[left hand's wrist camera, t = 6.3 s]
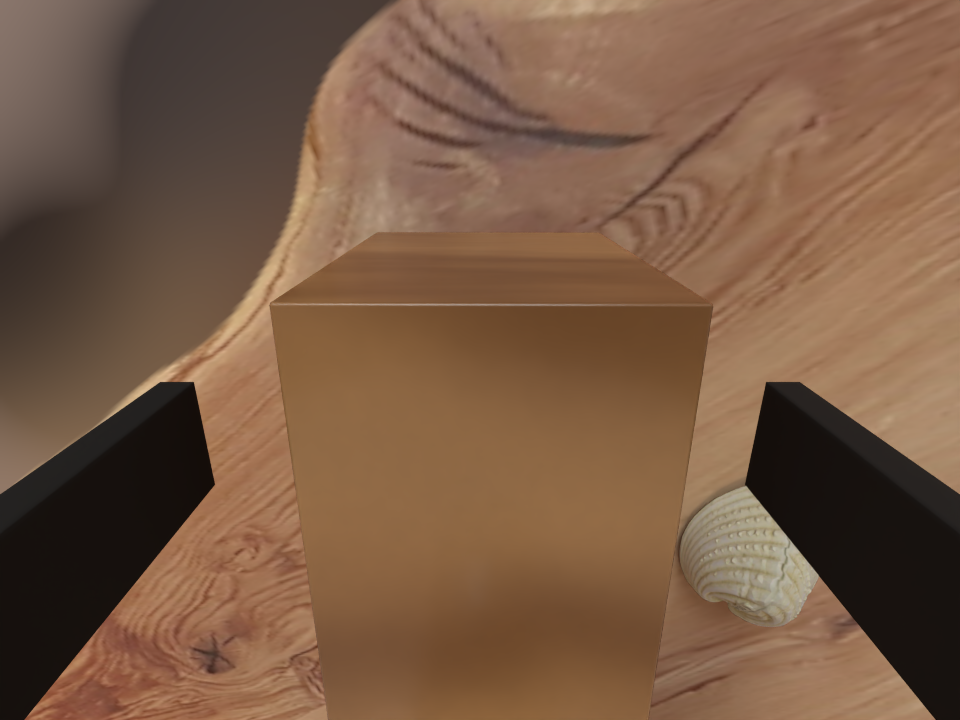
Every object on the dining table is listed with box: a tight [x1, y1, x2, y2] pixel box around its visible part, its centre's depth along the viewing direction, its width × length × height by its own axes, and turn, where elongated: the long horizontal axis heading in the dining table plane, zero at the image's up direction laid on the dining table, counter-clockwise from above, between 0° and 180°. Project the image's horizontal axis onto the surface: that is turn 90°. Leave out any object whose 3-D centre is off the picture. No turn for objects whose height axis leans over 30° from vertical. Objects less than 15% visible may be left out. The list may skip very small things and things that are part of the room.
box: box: [270, 232, 713, 720], centre depth 20 cm, size 28×8×10 cm, turn 0°
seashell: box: [680, 486, 819, 627], centre depth 34 cm, size 8×8×8 cm
